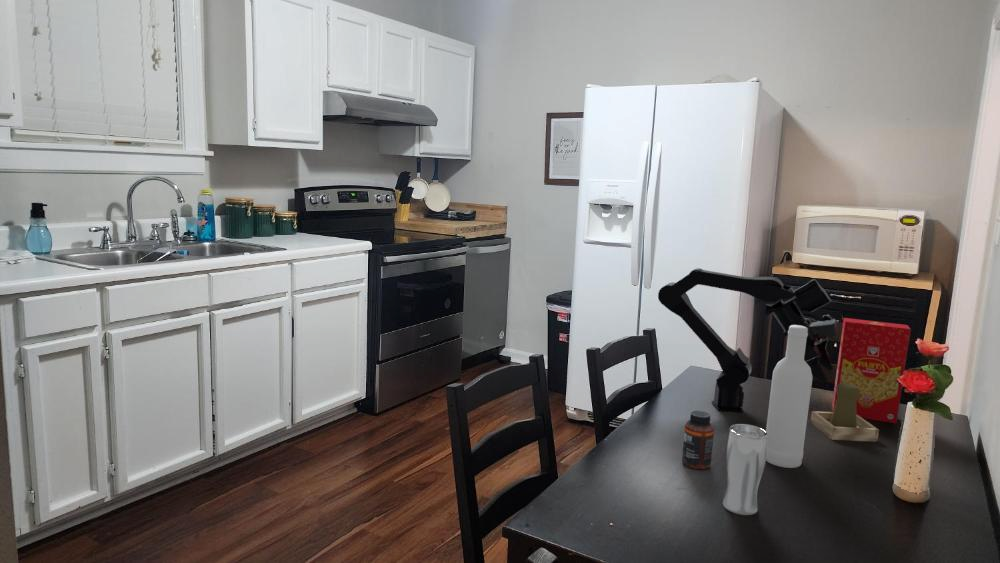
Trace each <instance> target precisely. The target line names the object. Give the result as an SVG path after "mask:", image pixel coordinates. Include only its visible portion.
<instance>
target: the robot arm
mask: <svg viewBox="0 0 1000 563" xmlns="http://www.w3.org/2000/svg"><path fill="white" fill-rule="evenodd" d="M698 285H700V286H706V287H711V288H715V289H717V288H718V289H723V290H728V291H733V292H740V293H743V294H746V295H748V296H751V297H753V298H755V299H759V300H761V301H764V302H766V303H765V311H764V313H763V315H764V316H765V317H767V316H769V315H771V314H773V316H774V317H775V319H776V320H777V322H778V323H779V325H780V326H781V328H782V330H783V332H782V334H783V335H784V337H788V330H789V326H791V325H800V326H805V327H806V328H807V329H808V336H807V339H806V347H805V355H804V361H805V362H806V363H807V364H808V365H809V367H810V368H811V372H812V377H814V378H816V379H818V380H819V381H821V382H822V383H827V382H828V381H829V379H828V377H827V375H826V373H825V371H824V369H823V367H824V368H825V369H826V370H828V371H832V370H833V369H834V366H833V364H832V361H831V359H830V356H829V352H828V349H827V345H828V341H829V337H830V338H834V337H838V333H840V332H839V328H838V322H837V320H836V318H833V317H832V316H831V315H830V314H824V315H822V317H821V320H817V321H814V322H813V321H812V320H811V319H810V318H808V317H806V318H805V316H804V314H803V313H802V312H808V313H811V314H812V312H813V313H814V312H815V311H816V310H818V309H820V308H822V307H824V306H826V305H828V304H830V303H831V302H832V300H831V298H830V297H829V294H828V293H827V292H826V289H824V287H822V286H821V285H820V283H819V282H818V281H817V279H816V278H813V279H811V280H809V281H808V282H807V283H806V284H804V285H802V286H800V287H798V288H795V287H792V286H790V285H787V284H784V283H783V281H782V280H781V279H780V278H778V277H776V276H755V277H754V276H751V277H750V276H747V277H746V276H741V275H735V274H730V273H729V274H728V273H723V272H718V271H717V272H716V271H711V270H706V269H703V268H699V267H698V268H695V269H693V270H691V271H690V272H689V273H688V274H687V275H685V276H684V277H682V278H681V279H680V280H678V281H677V282H673V281H672V282H669V283H667V284H665V285H663V286H662V287H661V288H660V289H659V290H658V293H657V294H658V295H657V298H658V301H659V303H660V304H661V305H663V306H664V307H665V308H666V309H668V310H669V311H670V312H672V313H674V314H675V315H677V317H680V318H681V320H683V321H684V323H685V324H686V325H687V326H688V327H689V329H691V330H692V332H693V333H694V334H695V335H696V337H698V339H700V341H701V342H702V343H703V344H704V345H705V346H706V348H707V349H708V350H709V351H710V352H711V353H712V355H714V357H715V358H716V360H717V362H718V364H719V366H720V369H721V370H722V371H721V372H720V373H719V375H718V376H717V379H716V382H715V388H714V396H713V397H714V398H713V400H711V404H712V405H713V406H714V407H715V408H716V409H717V411H722V412H723V411H724V412H725V411H726V412H728V411H729V412H741V413H742V412H743V411H744V409H743V408H744V407H743V406H744V397H745V392H744V386H742V385H741V384H744V383H746V382H747V381H748V380H749V378H750V374H751V373H752V364H751V362H750V361H751V360H750V357H748V356H746V355H745V353H744V352H743V351H742V349H741V348H740V347H738V348H737V349H736V350H735V349H733V348H731V347H730V346H729V345H728V344H727V343H726V342H725V340H723V339H722V337H720V335H719V334H718V333H717V332H716V331H715V329H713V327H712V326H711V325H710V324H709V323H708V321H707V320H705V319H704V317H702V315H701V314H700V313H699V312H698V310H696V309H695V307H694V306H693V304H692V301H691V300H690V297H689V295H688V294H687V292H689V291H690V290H692V289H693V288H694V287H697V286H698ZM783 300H785V301H783ZM795 302H796V303H795ZM768 303H772V304H768ZM801 311H802V312H801Z"/></svg>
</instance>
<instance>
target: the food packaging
mask: <svg viewBox="0 0 1000 563" xmlns="http://www.w3.org/2000/svg"><path fill="white" fill-rule="evenodd" d="M841 328H842V329H841V335H840V343H839V351H838V358H837V365H836V366H837V367H836V373H835V381H834V388H833V395H832V396H833V397H832V402H831V412H833V411H834V407H835V404H836V400H837V397H838V396H837V394H836V388H837V386H838V385H839V384H841V383H848V384H853V385H855V386H857V387H858V388H859V390H860V395H859V397H858V398H857V399H856V414H857V415H858V416H860V417H861V418H863V419H866V420H867V419H868V420H872V421H880V422H885V423H891V424H897V420H898V416H899V415H898V414H899V409H900V408H899V407H900V400H901V394H902V388H903V385H902V386H901V385H900V384H899V383H898V382H897V378H898V377H899V376H901V375H902V373H903V371H904V372H905V370H906V369H905V368H906V362H907V356H908V348H909V342H910V337H911V331H912V329H911V328H910V327H909V325H907V324H901V323H892V322H884V321H875V320H874V321H873V320H865V319H857V318H848V317H843V319H842V327H841Z"/></svg>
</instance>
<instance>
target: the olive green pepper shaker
mask: <svg viewBox="0 0 1000 563" xmlns="http://www.w3.org/2000/svg"><path fill="white" fill-rule="evenodd" d="M836 394H837V396H838V397H837V400H836V404H835V407H834V411H832V412H833V414H832V417H831V421H830V423H831V424H832V425H833V426H835V427H855V428H857V424H856V399H857V398H858V397H859V395H860V390H859V388H858V387H857V386H855V385H853V384H848V383H841V384H839V385H838V386H837V388H836Z"/></svg>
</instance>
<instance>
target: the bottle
mask: <svg viewBox="0 0 1000 563" xmlns="http://www.w3.org/2000/svg"><path fill="white" fill-rule="evenodd" d="M807 336H808V329H807V328H806V327H805V326H800V325H791V326H789V330H788V335H787V343H786V349H785V350H786V351H785V357H783V358H782V359H781V360H779V361H778V362H777V363H776V365H775V367H774V368H773V370H772V378H771V386H770V395H769V402H768V403H769V404H768V412H767V419H766V428H765V431H766V432H767V433H768V439H767V457H766V462H767V463H769V464H771V465H773V466H776V467H779V468H786V469H787V468H788V469H794V468H795V469H797V468H799V467H801V465H802V462H803V458H804V447H805V439H806V431H807V423H808V415H809V409H810V400H811V393H812V392H811V391H812V385H813V377H814V376H813V375H812V372H811V368H810V367H809V365H808V364H807V363H806V362H805V361H804V355H805V347H806V339H807Z"/></svg>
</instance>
